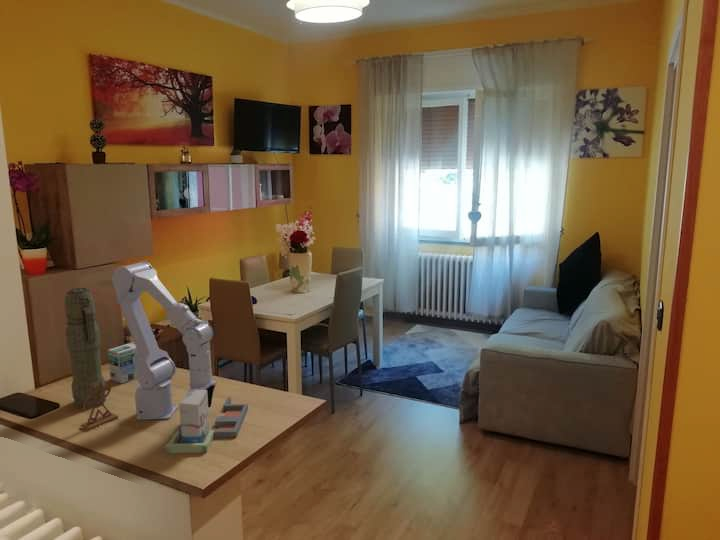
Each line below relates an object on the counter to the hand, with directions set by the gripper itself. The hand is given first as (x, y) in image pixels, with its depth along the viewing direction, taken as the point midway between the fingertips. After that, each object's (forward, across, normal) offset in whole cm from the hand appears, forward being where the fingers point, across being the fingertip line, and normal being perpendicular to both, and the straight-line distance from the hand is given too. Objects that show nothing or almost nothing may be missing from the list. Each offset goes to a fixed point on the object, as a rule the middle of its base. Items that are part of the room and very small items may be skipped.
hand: (203, 413), depth 149 cm
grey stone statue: (+3, +14, +38) cm, 41 cm away
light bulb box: (+3, +34, +34) cm, 48 cm away
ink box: (+2, -10, -1) cm, 10 cm away
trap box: (+2, -2, -3) cm, 5 cm away
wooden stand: (+3, 0, +29) cm, 29 cm away
